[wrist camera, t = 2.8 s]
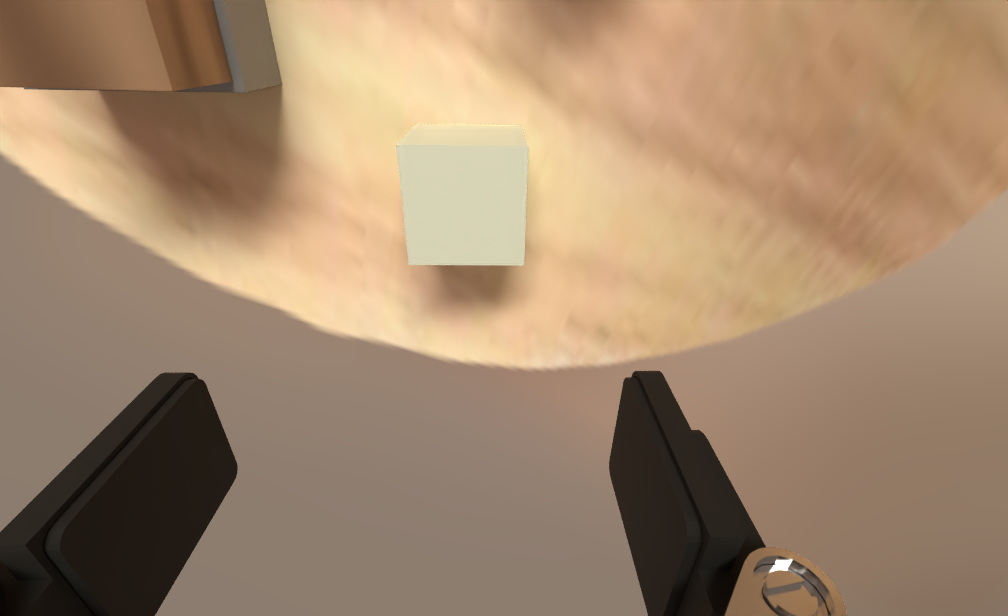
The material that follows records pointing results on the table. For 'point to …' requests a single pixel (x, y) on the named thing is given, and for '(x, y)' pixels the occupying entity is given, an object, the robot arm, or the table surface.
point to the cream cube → (464, 193)
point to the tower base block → (241, 48)
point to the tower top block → (111, 44)
